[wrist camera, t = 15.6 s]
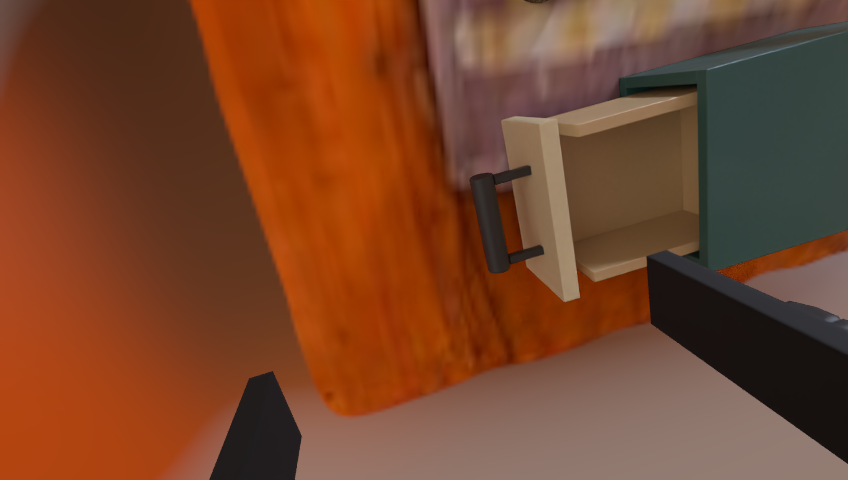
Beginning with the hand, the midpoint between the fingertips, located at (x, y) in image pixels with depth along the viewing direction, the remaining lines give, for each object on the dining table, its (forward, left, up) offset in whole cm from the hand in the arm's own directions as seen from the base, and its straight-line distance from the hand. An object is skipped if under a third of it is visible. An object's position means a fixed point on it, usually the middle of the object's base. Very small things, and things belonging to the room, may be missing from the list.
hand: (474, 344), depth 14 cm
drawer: (+1, +14, -19) cm, 23 cm away
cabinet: (+1, +27, -20) cm, 33 cm away
